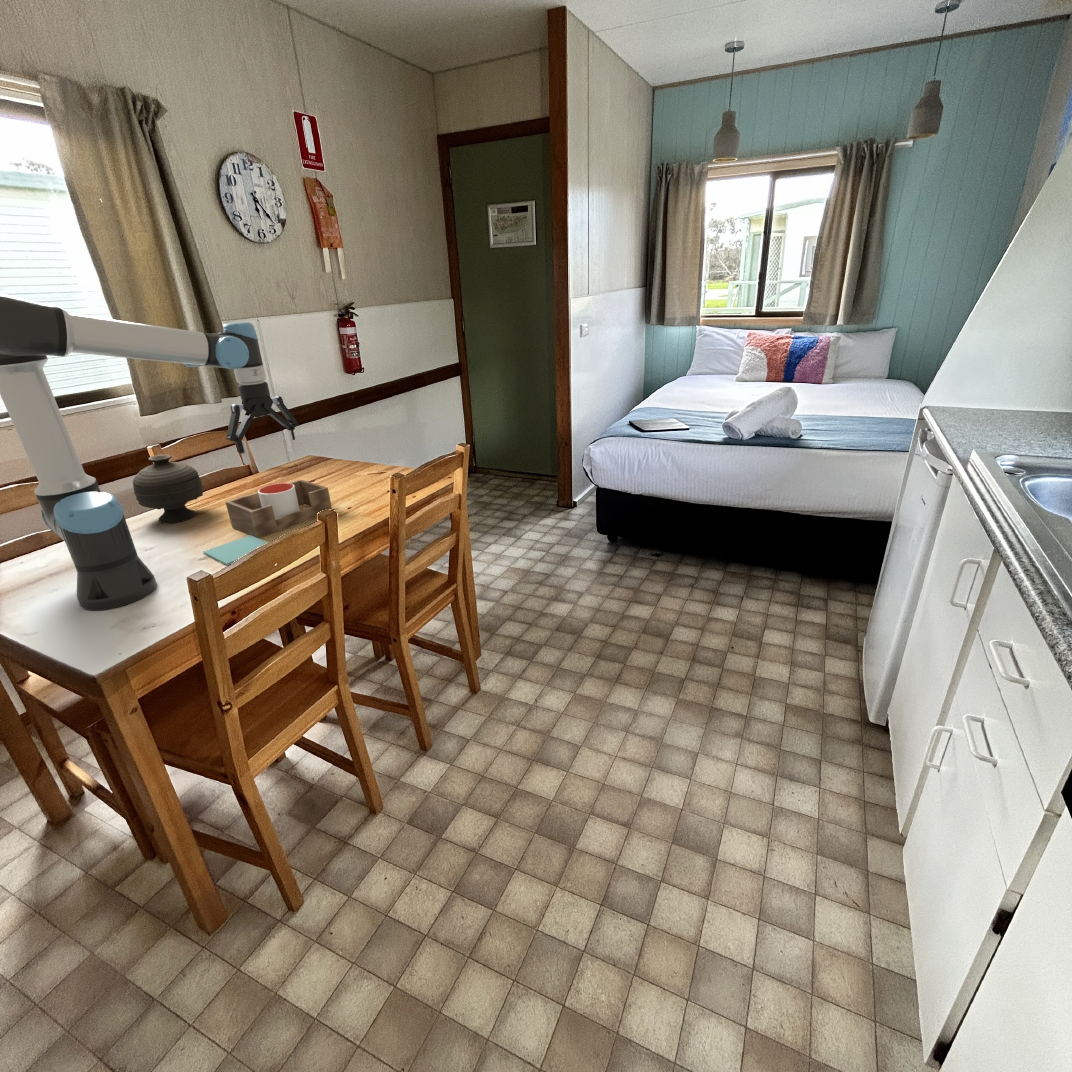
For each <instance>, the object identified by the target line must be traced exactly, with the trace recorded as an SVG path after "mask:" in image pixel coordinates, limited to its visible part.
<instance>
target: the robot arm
mask: <svg viewBox="0 0 1072 1072" xmlns="http://www.w3.org/2000/svg"><path fill="white" fill-rule="evenodd" d="M71 353H75V354H84V355H85V354H86V355H94V356H95V355H96V356H106V357H115V358H124V359H125V358H126V359H135V360H144V361H154V362H156V361H157V362H164V363H166V362H167V363H172V364H173V363H176V364H182V365H184V366H185V367H187V368H196V367H197V368H200V367H210V368H220V369H221V368H222V369H227V370H233V373H234V376H235V380H236V383H237V384H238V385H237V389H238V392H239V396H240V399H241V403H239V404H235V403H232V404H230V411H231V413H230V417H229V418H230V419H229V423H228V428H227V432H226V436H225V439H226V440H227V441H230V442H234V443H235V448H236V452H237V453H238V454H240V455H241V458H242V462H243V464H245V465H251V464H252V462H251V458H250V453H249V451H248V447H247V444H246V443H247V442H246V440H243V439H244V437H245V435H246V433H247V432H248V429H249V428H250V426H251V423H252V421H254V419H255V418H256V419H257V418H260V417H266V416H267V417H268V415H269V416H270V417H271V418H272V419H274V420H275V421H276V422H277V423H279V424H280V425H281V426H283V428H285V429H283V433H284V439H285V442H286V443H285V444H286V447H287V451H288V452H289V453H292V454H293V453H296V449H295V445H294V441H295V440H296V436H295V432H294V430H296V427H298V426H299V422H298V420H297V419H296V418H295V417H294V415H293V414H292V412H291V411H290V410H289V408H288V407H287V406H286V405H285V403H284V400H283V397H282V396H280V395H274V396H273V397H271V393H270V388H269V383H268V382H267V381H265V380H267V375H266V370H265V367H264V362H263V359H262V354H261V349H260V344H259V339H258V335H257V332H256V329H255V326H254V325H253V323H251V322H249V321H243V322H242V321H239V322H230V323H224V324H223V325H222V331H221V332H213V333H208V332H202V331H195V330H186V329H181V328H173V327H166V326H159V325H151V324H147V323H145V324H144V323H141V322H139V323H138V322H131V321H124V320H117V319H112V318H105V317H97V316H96V317H95V316H91V315H90V316H89V315H83V314H75V313H69V312H68V311H67V310H66V309H64V308H63V307H62V306H57V305H50V304H46V303H45V304H44V303H40V302H35V301H31V300H27V299H24V298H20V297H16V296H12V295H9V294H5V293H0V398H1V400H2V403H3V404H4V407H5V408H6V411H7V413H8V416H9V418H10V421H12V424H13V426H14V429H15V431H16V434H17V436H18V438H19V440H20V442H21V445H22V447H23V449H24V451H25V454H26V457H27V459H28V461H29V463H30V465H31V467H32V470H33V471H34V474H35V476H36V478H37V479H36V480H38V485H37V486H36V487H35V490H34V491H33V492H34V494H35V497H36V499H37V501H38V503H39V505H40V508H41V510H40V512H41V518H42V521H43V522H44V524H45V525H46V527H47V528H48V529H49V530H51V531H52V532H53V533H55V534H56V535H57V536H58V537H59V538H60V539H61V540H63V542H64V543H65V545H66V547H67V550H68V552H69V555H70V557H71V560H72V562H73V565H74V567H75V570H76V599H77V601H78V604H79V606H80V608H82V609H83V610H88V611H102V610H110V609H114V608H119V607H124V606H126V605H129V604H132V603H135V602H137V601H139V600H141V599H143V598H145V597H147V596H148V595H150V594H151V593H152V592H153V591H155V589H156V588H157V586H158V583H157V581H156V577H155V575H154V574H153V572H152V571H151V570H150V569H149V567H148V566H147V565H146V564H145V563H144V561H143V560H142V559H141V558H140V557H139V555H138V552H137V549H136V546H135V543H134V541H133V540H134V539H133V538H132V535H131V532H130V529H129V526H128V523H127V521H126V517H125V514H124V512H125V511H124V509H123V506H122V505H121V503H120V501H119V499H118V498H117V497H116V496H115V495H113V494H112V493H109V492H105V491H101V489H100V486H99V485H98V481H97V479H96V477H94V476H91V475H88V474H87V473H86V472H85V470H84V467H83V465H82V462H81V460H80V458H79V454H78V452H77V450H76V448H75V445H74V442H73V440H72V437H71V436H70V434H69V431H68V428H67V425H66V422H65V420H64V418H63V416H62V413H61V410H60V408H59V406H58V404H57V401H56V398H55V396H54V393H53V391H52V389H51V386H50V383H49V381H48V379H47V377H46V374H45V371H44V366H45V365H46V363H47V361H48V356H49V357H50V356H53V357H63V358H65V357H67V356H69V354H71ZM273 405H276V407H277V408H278V410H279V411H280V413H281V414H282V415H283V416H284V418H283V416H281V415H280V414H279V413H277V411H276V410H275V409H274V408H273V407H272V406H273ZM243 410H244V414H243V415H242V419H241V422H240V417H241V413H242V412H243ZM239 422H240V424H239Z"/></svg>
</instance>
